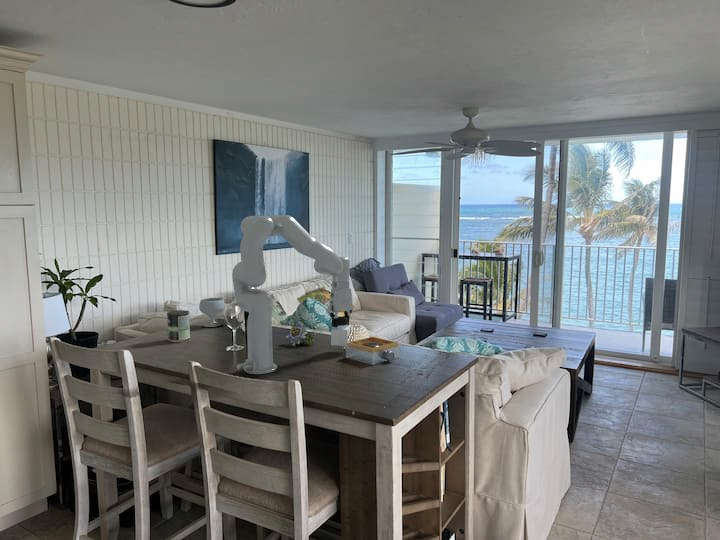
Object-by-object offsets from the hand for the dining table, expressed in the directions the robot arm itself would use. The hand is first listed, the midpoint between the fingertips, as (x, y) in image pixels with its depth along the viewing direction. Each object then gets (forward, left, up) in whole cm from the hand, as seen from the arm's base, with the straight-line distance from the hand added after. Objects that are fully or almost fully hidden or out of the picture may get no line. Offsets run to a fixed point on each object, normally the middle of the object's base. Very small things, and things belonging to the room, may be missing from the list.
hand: (340, 325), depth 223 cm
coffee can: (-40, +74, -12) cm, 85 cm away
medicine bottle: (0, 0, -8) cm, 8 cm away
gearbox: (+4, -18, -12) cm, 22 cm away
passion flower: (-3, +25, -12) cm, 28 cm away
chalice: (-12, +93, -12) cm, 95 cm away
